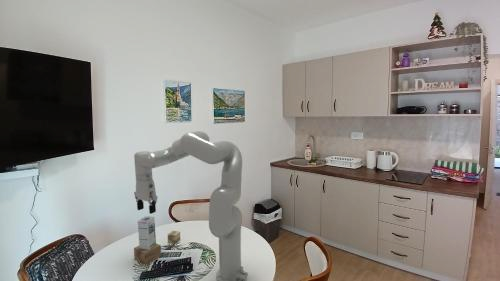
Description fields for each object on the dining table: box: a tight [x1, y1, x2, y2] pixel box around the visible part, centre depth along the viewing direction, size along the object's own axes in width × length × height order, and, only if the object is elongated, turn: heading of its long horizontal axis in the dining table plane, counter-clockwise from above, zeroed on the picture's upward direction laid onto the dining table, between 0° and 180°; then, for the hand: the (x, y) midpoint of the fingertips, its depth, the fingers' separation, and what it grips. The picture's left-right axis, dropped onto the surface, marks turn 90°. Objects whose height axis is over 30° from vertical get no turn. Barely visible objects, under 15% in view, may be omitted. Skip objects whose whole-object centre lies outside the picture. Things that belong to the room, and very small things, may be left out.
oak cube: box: [167, 230, 181, 245], centre depth 148 cm, size 5×5×5 cm
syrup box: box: [137, 215, 157, 250], centre depth 130 cm, size 6×6×14 cm
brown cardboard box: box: [133, 243, 162, 266], centre depth 131 cm, size 9×9×6 cm
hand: (146, 211), depth 129 cm, fingers open, 9 cm apart
